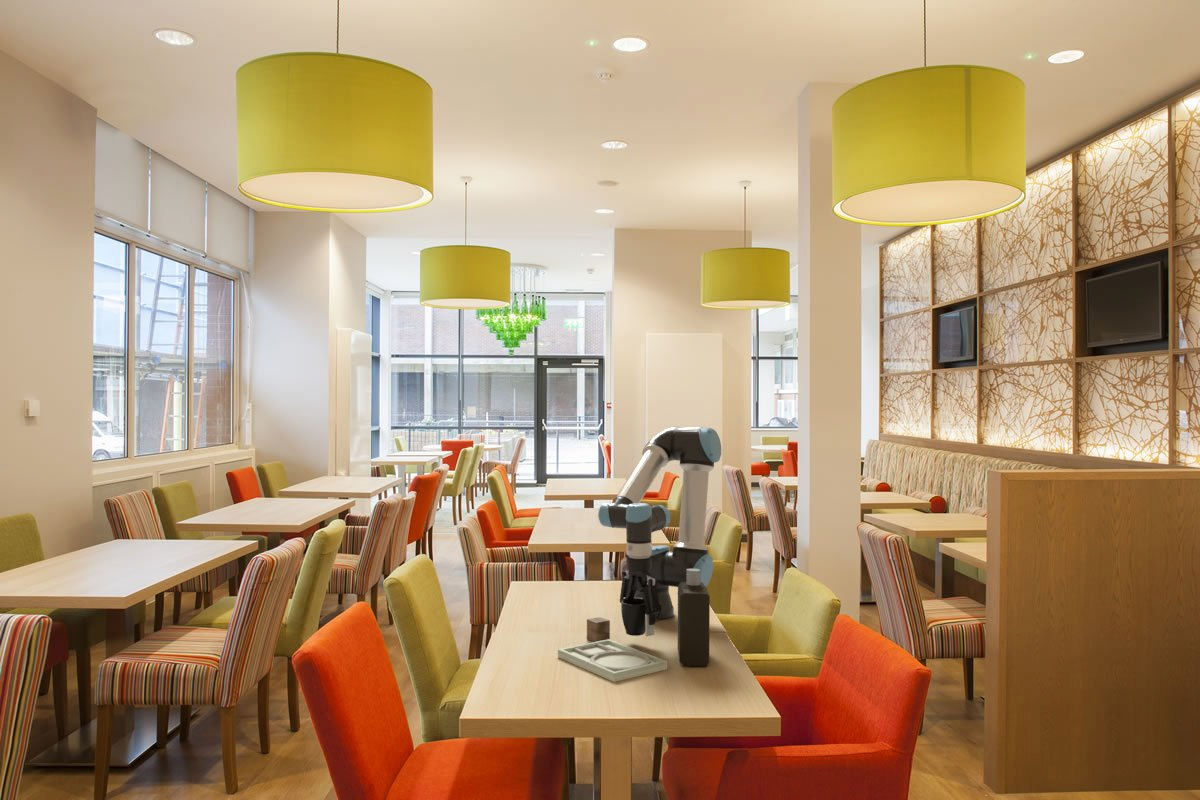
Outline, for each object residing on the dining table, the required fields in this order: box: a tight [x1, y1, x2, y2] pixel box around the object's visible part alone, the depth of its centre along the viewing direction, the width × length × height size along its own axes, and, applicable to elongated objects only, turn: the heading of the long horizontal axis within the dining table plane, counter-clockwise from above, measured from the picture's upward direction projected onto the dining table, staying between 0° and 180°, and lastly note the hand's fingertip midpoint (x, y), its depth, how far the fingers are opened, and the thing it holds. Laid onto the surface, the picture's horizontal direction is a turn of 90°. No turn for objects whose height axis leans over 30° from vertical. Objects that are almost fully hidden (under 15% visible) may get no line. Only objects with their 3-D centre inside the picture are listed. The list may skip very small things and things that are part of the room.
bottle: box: [677, 568, 711, 668], centre depth 231 cm, size 8×16×25 cm, turn 177°
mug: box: [620, 598, 662, 637], centre depth 244 cm, size 8×12×10 cm
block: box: [586, 616, 611, 642], centre depth 250 cm, size 5×5×6 cm
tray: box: [557, 638, 668, 683], centre depth 227 cm, size 18×26×2 cm
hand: (639, 631), depth 245 cm, fingers closed on mug, 9 cm apart
